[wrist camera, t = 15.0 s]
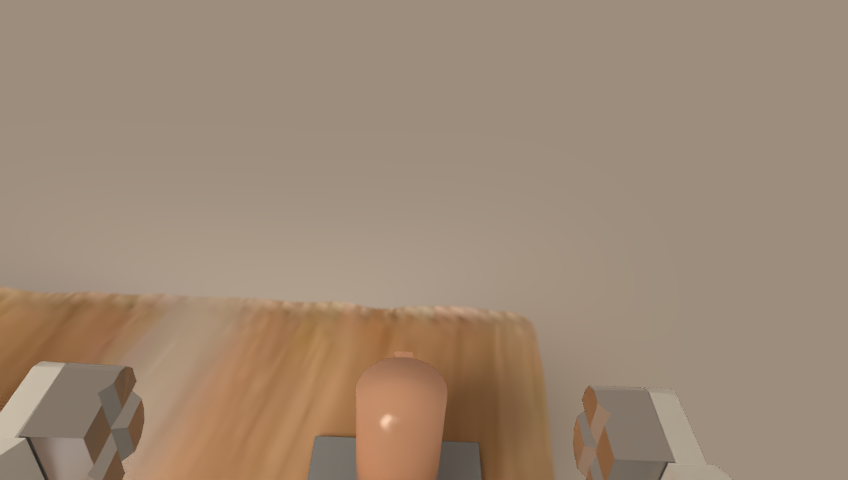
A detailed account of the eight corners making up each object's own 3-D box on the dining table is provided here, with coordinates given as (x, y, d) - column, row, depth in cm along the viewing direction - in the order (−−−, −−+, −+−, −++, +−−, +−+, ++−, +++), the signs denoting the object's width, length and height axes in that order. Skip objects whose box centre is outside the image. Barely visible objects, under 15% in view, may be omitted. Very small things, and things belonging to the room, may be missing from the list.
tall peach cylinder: (351, 551, 39) (351, 424, 32) (363, 444, 46) (365, 320, 39) (432, 555, 39) (448, 429, 32) (432, 448, 46) (445, 324, 39)
